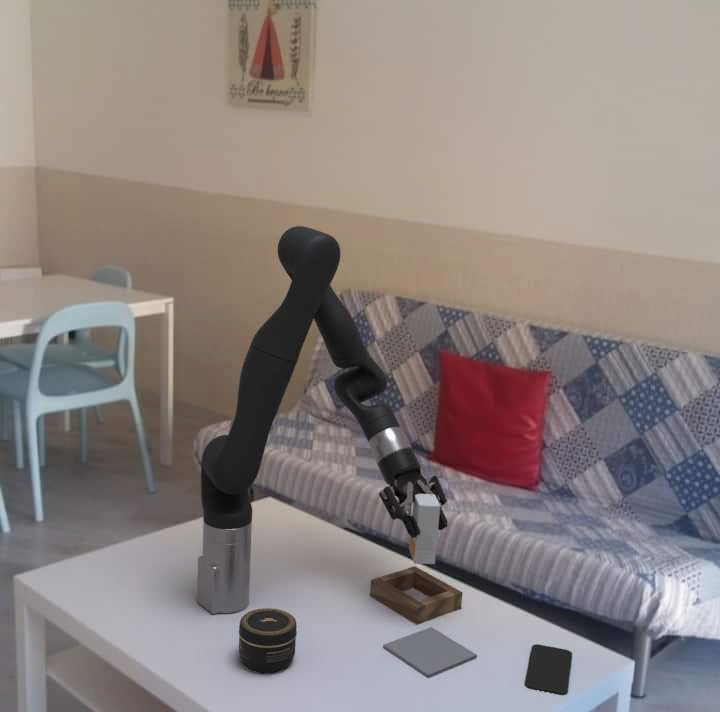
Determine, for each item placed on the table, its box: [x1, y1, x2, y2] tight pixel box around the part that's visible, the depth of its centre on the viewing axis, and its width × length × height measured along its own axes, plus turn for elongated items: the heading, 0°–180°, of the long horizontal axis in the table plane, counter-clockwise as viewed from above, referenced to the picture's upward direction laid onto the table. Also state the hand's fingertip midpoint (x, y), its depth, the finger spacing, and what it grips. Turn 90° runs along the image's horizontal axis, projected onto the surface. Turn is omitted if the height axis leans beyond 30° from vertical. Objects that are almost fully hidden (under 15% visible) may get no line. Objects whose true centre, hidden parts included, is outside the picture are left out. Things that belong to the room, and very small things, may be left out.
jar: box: [238, 607, 298, 674], centre depth 168 cm, size 10×10×8 cm
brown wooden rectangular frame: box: [369, 566, 463, 625], centre depth 193 cm, size 12×14×4 cm
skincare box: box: [408, 494, 440, 565], centre depth 185 cm, size 6×4×12 cm
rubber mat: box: [382, 626, 478, 679], centre depth 175 cm, size 12×12×1 cm
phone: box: [524, 644, 573, 696], centre depth 172 cm, size 7×1×15 cm
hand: (430, 531), depth 184 cm, fingers closed on skincare box, 6 cm apart
